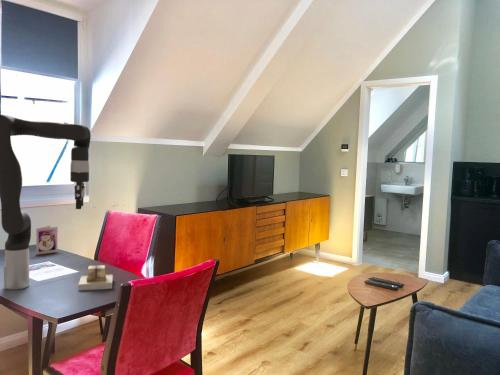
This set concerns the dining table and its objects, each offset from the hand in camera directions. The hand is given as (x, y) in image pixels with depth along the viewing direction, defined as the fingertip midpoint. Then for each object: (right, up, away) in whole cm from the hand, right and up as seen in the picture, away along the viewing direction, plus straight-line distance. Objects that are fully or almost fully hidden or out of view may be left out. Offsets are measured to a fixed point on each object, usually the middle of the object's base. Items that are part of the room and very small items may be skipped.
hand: (79, 207), depth 180 cm
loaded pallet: (+5, -33, +7) cm, 34 cm away
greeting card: (-45, -30, +60) cm, 81 cm away
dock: (+5, -36, +7) cm, 37 cm away
